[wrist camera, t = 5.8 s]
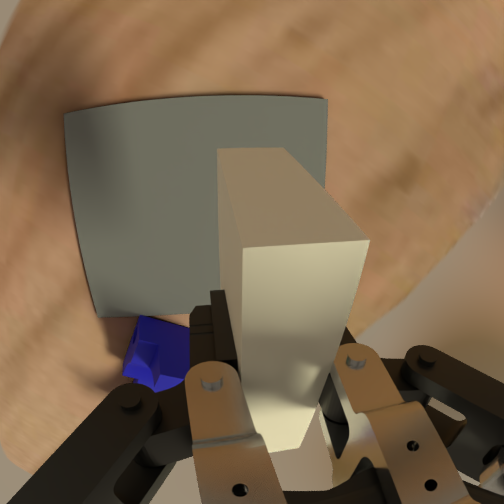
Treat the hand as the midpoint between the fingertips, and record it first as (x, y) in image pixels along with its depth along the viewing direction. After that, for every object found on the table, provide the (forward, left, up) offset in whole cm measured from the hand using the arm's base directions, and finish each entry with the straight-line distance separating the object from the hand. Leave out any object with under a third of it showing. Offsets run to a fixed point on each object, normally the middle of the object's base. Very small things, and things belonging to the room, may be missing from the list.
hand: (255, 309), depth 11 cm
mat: (0, -2, -12) cm, 12 cm away
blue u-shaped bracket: (+14, -8, -12) cm, 20 cm away
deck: (-1, 0, -2) cm, 2 cm away
